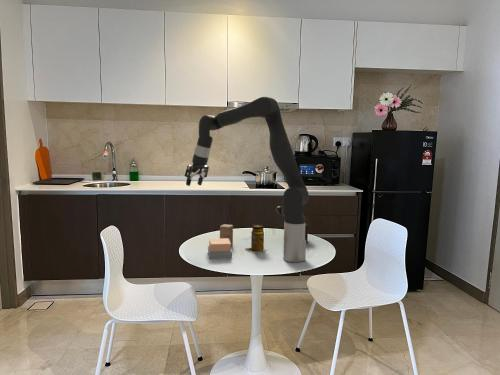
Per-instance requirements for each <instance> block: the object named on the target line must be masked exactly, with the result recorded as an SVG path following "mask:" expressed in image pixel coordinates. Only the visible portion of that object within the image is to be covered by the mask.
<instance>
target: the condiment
mask: <svg viewBox="0 0 500 375" xmlns="http://www.w3.org/2000/svg"><path fill="white" fill-rule="evenodd" d="M250 238H251V239H250V240H251V242H250V243H251V244H250V245H251V246H250V247H248V248H247V247H246V248H244V250H245V251H247V252H249V253H251V254H256V253H261V252H266V251H267V249H264V248H265V247H264V246H265V243H264V242H265V239H264V238H265V231H264V226H263V225H262V224H253V225H252V230H251V237H250Z"/></svg>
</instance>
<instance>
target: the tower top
mask: <svg viewBox="0 0 500 375" xmlns="http://www.w3.org/2000/svg"><path fill="white" fill-rule="evenodd" d="M208 240H209V241H208V242H209V243H208V244H209V245H208V246H209V247H210V251H211V252H224V251H231V250H232V245H231V243H230V241H229V239H228V238H222V239H220V238H209V239H208Z"/></svg>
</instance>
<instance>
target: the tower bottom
mask: <svg viewBox="0 0 500 375" xmlns="http://www.w3.org/2000/svg"><path fill="white" fill-rule="evenodd" d="M207 253H208V257H209V259H210V260H219V259H233V251H232V249H231V251H224V252H211V251H210V247H209V245H208V246H207Z"/></svg>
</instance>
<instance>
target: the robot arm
mask: <svg viewBox="0 0 500 375" xmlns="http://www.w3.org/2000/svg"><path fill="white" fill-rule="evenodd" d="M281 113H282V112H281V110H280V106H279V103H278V101H277V100H276V99H274V98H272V97H269V96H260V97H258V98H255V99H254V100H252V101H250V102H247V103H246V104H244V105H241V106H240V105H239V106H238V107H234V108H230V109H227V110H224V111H220V112H218V114H216V115H211V114H209V115H207V114H204V115H203V116H201V117H200V119H199V122H198V139H197V142H196V146H195V148H194V152H193V156H192V159H191V162H192V165H190V164H188V165H186V168H185V169H186V170H185V172H184V173H185V174H184V177H185V178H186V181H185V185H186V186H188V187H191V184H192V181H193V180H192V179H193V177H195V176H196V175H198V180H197V185H198V186H202V184H203V182H204V181H203V180H204V179H205V178H207V176H208V173H209V168H210V167H209V166H208V162H209V157H210V153H211V149H212V145H213V139H214V138H213V136H212V135H211V134H210V133H211V131H217V130H220V129H222V128H224V127H227V126H232V125H235V124H238V123H239V122H242V121H243V120H247V119H250V118H264V119H265V122H266V124H267V128H268V131H269V132H268V133H269V149H270V153H271V156H272V158H273V161H274V163H275V165H276V167H277V168H278V170H280V172H281V173H282V174H283V176H284V178H285V181H286V183H287V187H288V188H285V190H284V192H283V195H282V208H283V210H282V213H283V214H282V215H283V216H284V217H283V218H284V225H283V227H284V228H283V229H284V230H283V255H282V256H283V260H284V261H286V262H289V263H301V262H305V261H306V253H307V252H306V250H307V243H306V240H305V224H306V216H305V215H304V214H303V206H304V205H306V204H307V203H308V201H309V198H310V197H309V196H310V195H309V190H308V188H307V186H306V184H305V182H304V179H303V177H302V175H301V173H300V170H299V167H298V166H299V165H298V163H297V161H296V158H295V155H294V151H293V149H292V146H291V142H290V141H289V138H288V134H287V132H286V131H287V130H286V128H285V126H284V123H283V119H282V114H281Z"/></svg>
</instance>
